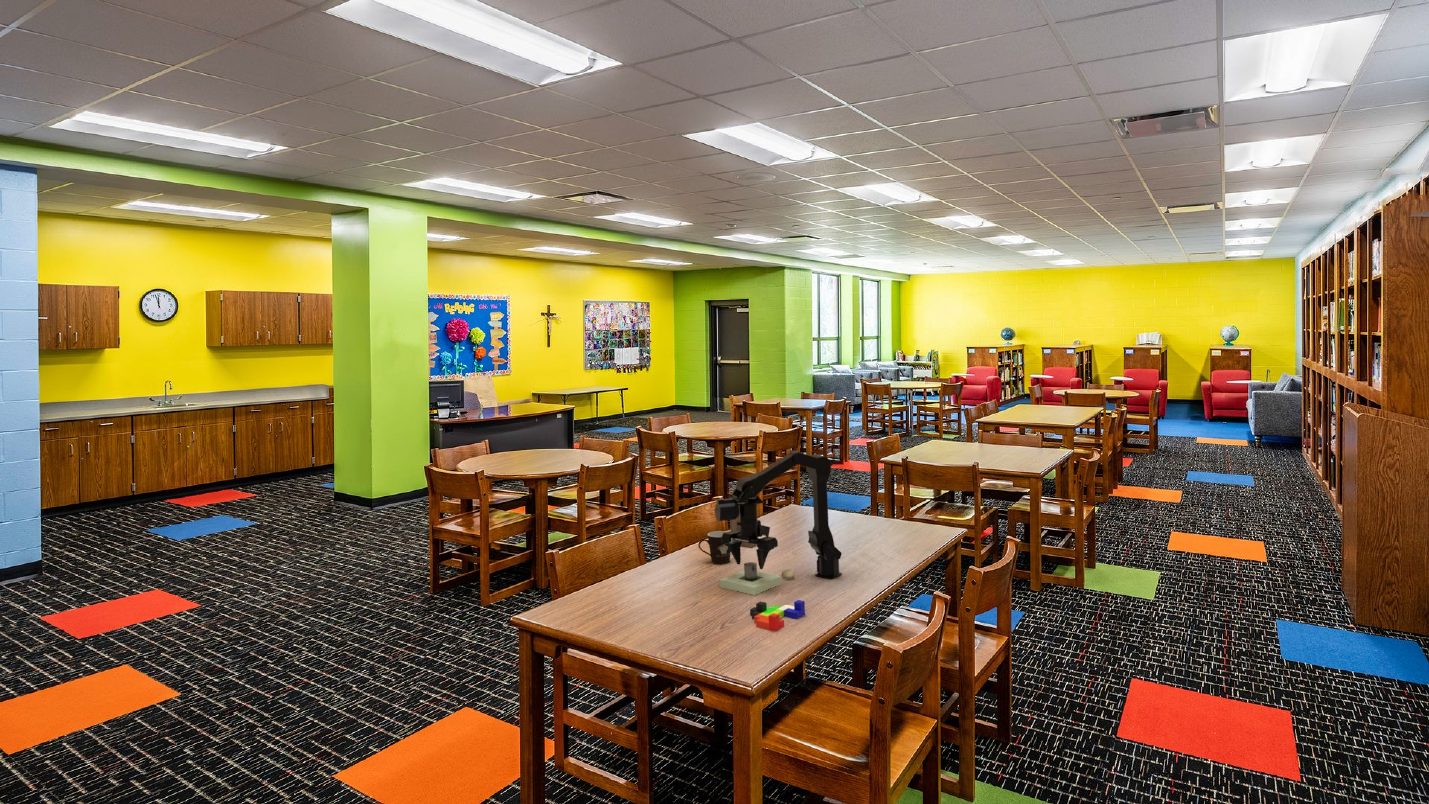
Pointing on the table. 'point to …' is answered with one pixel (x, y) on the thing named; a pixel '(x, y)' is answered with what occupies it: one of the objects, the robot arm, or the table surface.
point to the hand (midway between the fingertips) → (750, 566)
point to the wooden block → (737, 528)
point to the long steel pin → (750, 571)
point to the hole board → (755, 587)
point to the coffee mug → (717, 548)
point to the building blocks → (776, 614)
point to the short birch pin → (788, 574)
